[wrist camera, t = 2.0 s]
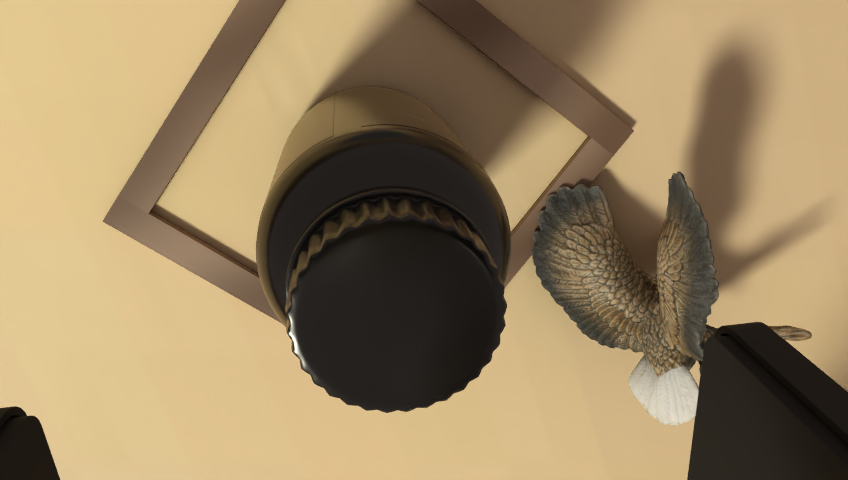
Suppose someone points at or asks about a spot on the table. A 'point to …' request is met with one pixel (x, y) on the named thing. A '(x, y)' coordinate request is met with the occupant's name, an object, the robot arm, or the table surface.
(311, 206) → the supplement bottle
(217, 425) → the table surface
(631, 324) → the eagle figurine
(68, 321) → the table surface
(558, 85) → the frame
